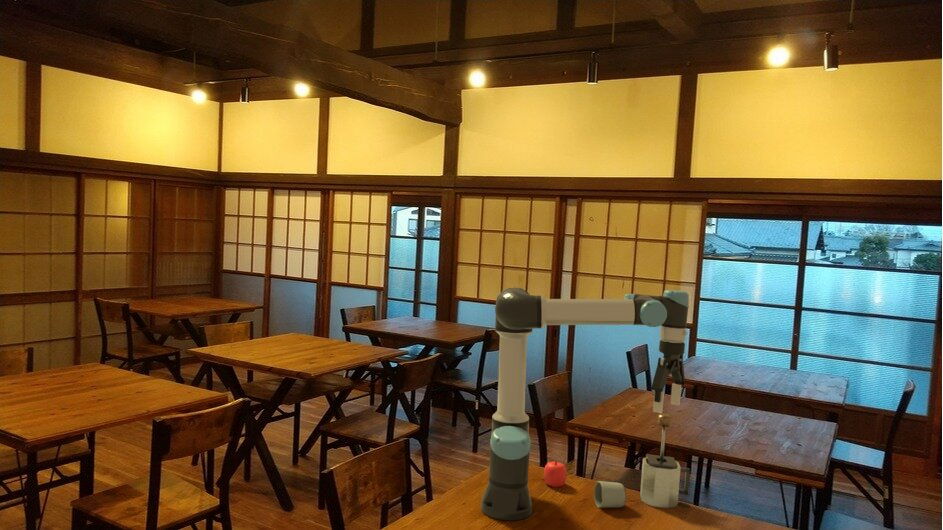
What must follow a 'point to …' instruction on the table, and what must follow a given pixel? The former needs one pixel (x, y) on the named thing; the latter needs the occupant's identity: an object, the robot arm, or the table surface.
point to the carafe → (662, 481)
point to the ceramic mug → (609, 494)
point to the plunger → (663, 431)
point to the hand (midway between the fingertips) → (666, 408)
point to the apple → (555, 474)
